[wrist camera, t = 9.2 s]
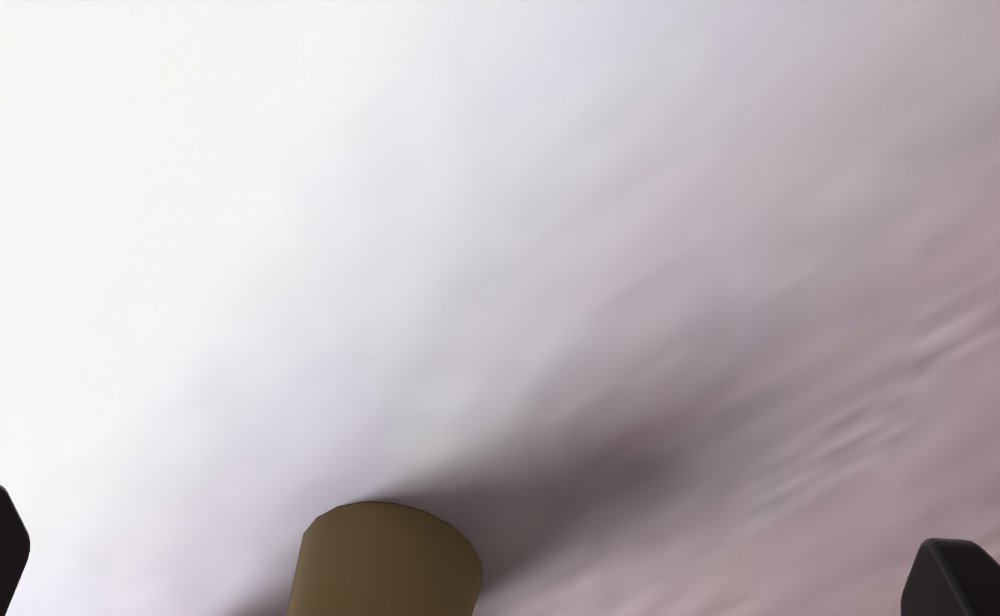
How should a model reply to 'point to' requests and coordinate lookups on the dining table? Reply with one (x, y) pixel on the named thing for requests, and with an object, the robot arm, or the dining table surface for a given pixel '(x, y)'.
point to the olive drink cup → (384, 565)
